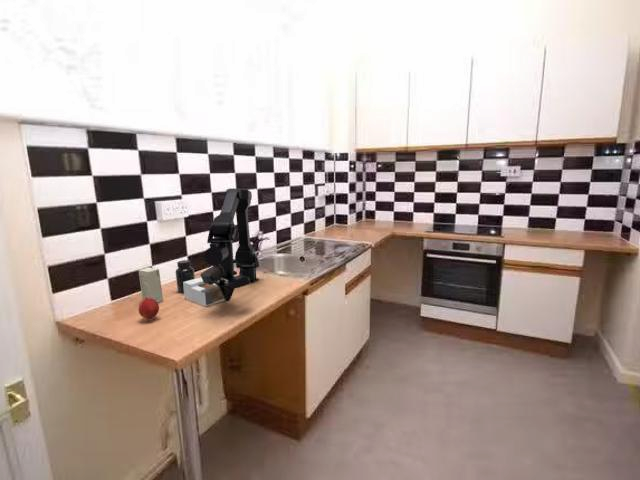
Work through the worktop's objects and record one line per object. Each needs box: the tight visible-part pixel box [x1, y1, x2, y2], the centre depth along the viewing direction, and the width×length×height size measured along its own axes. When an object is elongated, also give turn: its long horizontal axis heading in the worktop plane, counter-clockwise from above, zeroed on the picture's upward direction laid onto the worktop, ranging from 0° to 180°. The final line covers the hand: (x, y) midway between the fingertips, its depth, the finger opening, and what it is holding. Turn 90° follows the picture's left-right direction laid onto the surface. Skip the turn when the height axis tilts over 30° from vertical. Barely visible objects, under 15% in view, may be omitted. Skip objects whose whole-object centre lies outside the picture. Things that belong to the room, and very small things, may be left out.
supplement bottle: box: [175, 259, 196, 294], centre depth 133 cm, size 7×7×12 cm
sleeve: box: [183, 276, 225, 307], centre depth 125 cm, size 10×14×6 cm
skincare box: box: [138, 267, 164, 304], centre depth 122 cm, size 6×4×12 cm
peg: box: [199, 283, 223, 302], centre depth 124 cm, size 4×10×4 cm, turn 52°
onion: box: [138, 296, 160, 321], centre depth 107 cm, size 6×6×8 cm
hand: (227, 301), depth 117 cm, fingers closed
